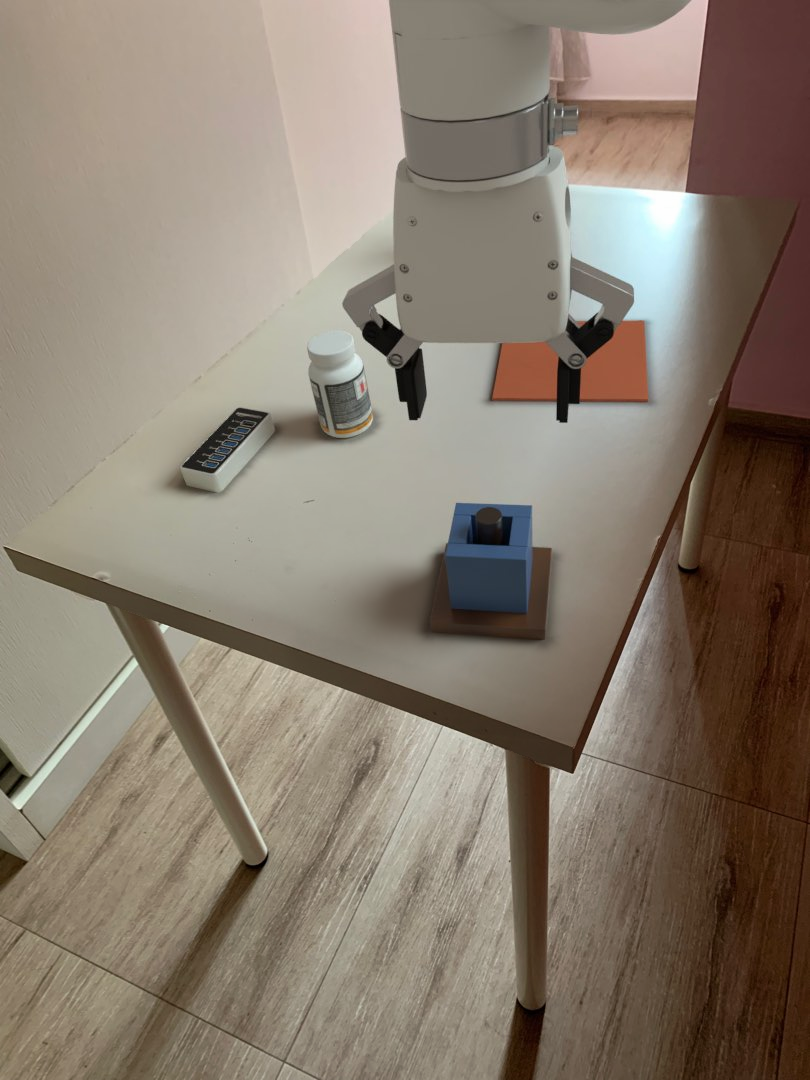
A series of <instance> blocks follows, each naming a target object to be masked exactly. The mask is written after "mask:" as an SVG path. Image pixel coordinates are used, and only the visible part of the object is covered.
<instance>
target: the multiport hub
mask: <svg viewBox="0 0 810 1080" xmlns="http://www.w3.org/2000/svg"><path fill="white" fill-rule="evenodd" d="M275 432H276V429H275V425H274V421H273V417H272V414H271V412H269V411H265V410H259V409H253V408H248V407H243V406H242V407H241V406H239V407H235V409H234V410H233V411H232V412H231V413H230V414H229V415H228V416H227V417H226V418H225V419H224V420H223V421H222V422H221V424H219V426H217V427H216V428H215V429H214V430H213V431H212V432H211V433H210V434H209V436H208V437H207V438H206V439H205V440H203V442H202V443H201V444H200V445H199V446H198V447H197V448H196V449H195V450H194V451H193V452H192V453H191V454H190V455H189V456H188V457H187V458H186V459H185V460H184V461H183V463H181V464H180V466H179V470H180V472H181V474H182V477H183V481H185V485H186V486H187V487H191V488H196V489H200V490H205V491H209V492H213V493H221V492H223V491H224V489H226V487H227V486H228V485H229V484H230V483H231V482H232V481H233V480H234V478H235V477H236V476H237V475H238V474H239V473H240V472H241V471H242V469H243V468H244V467H245V466H246V465H247V464H248V463H249V462H250V460H251V459H252V458H253V457H254V456H255V455H256V454H257V453H258V451H260V450H261V448H262V447H263V446H264V444H266V442H267V441H268V440H269V439H270V438H271V437H272V436H273V434H274V433H275Z"/></svg>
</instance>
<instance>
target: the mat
mask: <svg viewBox="0 0 810 1080" xmlns="http://www.w3.org/2000/svg"><path fill="white" fill-rule="evenodd" d="M575 321H576V322H577V323H578V324H579V325H580V326H582V325H584V324H585V323H586V322H587V321H588V320H583V321H581V320H579V321H577V320H575ZM645 324H646V323H645V320H622V322H621V323H620V325H618V327H617V328H616V330H615V331H614V335H613V337H612V338H611V339H610V340H609V341H608V342H607V343H606V344H604V345H603V346H602V347H601V348H599V349H598V350H597V351H596V352H595V353H593V354H592V355H591V356H590V357H588V358H587V359H586V363H585V365H584V366H583V367H582V368H581V384H580V402H587V403H588V402H595V403H596V402H597V403H599V402H600V403H601V402H603V403H606V402H607V403H611V402H612V403H648V402H649V386H648V368H647V367H648V362H647V346H646V326H645ZM500 347H501V348H500V353H499V358H498V363H497V369H496V374H495V382H494V385H493V392H492V396H491V402H500V401H501V402H557V369H558V358H559V356H558V355H557V354H556V353H555V352H554V351H553V350H552V349H551V348H550V347H549V345H548V344H547V343H546V342H545V341H544V342H533V343H501V346H500Z"/></svg>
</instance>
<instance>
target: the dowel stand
mask: <svg viewBox="0 0 810 1080" xmlns="http://www.w3.org/2000/svg"><path fill="white" fill-rule="evenodd" d="M475 518H476V532H477V545H497V546H503V523H502V513H501V511H500V510H499V509H497V508H494V507H484V508H482V509H480V510H479V511H478V512H477V513H476V515H475ZM447 545H448V542H446V543H445V547H444V552H443V557H442V560H441V561H442V562H441V566H440V571H439V576H438V581H437V586H436V590H435V595H434V600H433V606H432V609H431V614H430V619H429V627H430V632H432V633H447V634H458V635H459V634H461V635H475V636H487V637H489V636H490V637H504V638H518V639H519V638H520V639H531V640H532V639H534V640H546V637H547V625H548V613H549V611H548V610H549V600H550V599H549V598H550V586H551V574H552V573H551V571H552V561H553V548H552V547H545V546H544V547H543V546H542V547H541V546H532V548H533V560H532V570H531V580H530V590H529V599H528V610H527V613H511V612H495V611H479V610H463V609H451V603H450V594H449V585H448V576H447V568H446V559H445V554H446V549H447Z"/></svg>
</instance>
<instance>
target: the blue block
mask: <svg viewBox="0 0 810 1080" xmlns="http://www.w3.org/2000/svg"><path fill="white" fill-rule="evenodd" d="M484 507H494V508H497V509H499V510H500V511H501V513H502V523H503V546H497V545H477V532H476V518H475V515H476V513H477V512H478V511H479V510H480V509H482V508H484ZM447 543H448V545H447V549H446V554H445V559H446V568H447V576H448V585H449V594H450V603H451V609H463V610H479V611H495V612H511V613H527V610H528V599H529V590H530V580H531V570H532V560H533V548H532V547H533V505H532V504H531V505H530V504H503V503H478V502H477V503H475V502H474V503H473V502H456V503H455V506H454V511H453V517H452V521H451V526H450V531H449V535H448V541H447Z"/></svg>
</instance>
